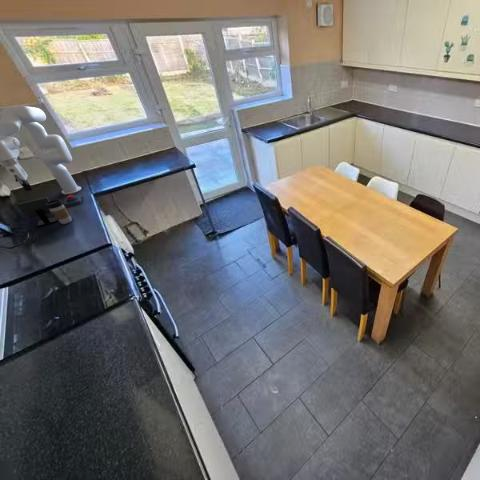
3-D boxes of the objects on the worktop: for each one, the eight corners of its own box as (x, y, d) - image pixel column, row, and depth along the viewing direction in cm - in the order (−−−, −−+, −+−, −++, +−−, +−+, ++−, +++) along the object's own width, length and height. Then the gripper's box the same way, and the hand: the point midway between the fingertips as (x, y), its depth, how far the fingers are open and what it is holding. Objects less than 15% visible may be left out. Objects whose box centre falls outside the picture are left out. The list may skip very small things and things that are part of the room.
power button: (68, 197, 199) (66, 195, 198) (74, 196, 201) (72, 194, 200) (68, 199, 197) (66, 197, 196) (74, 198, 198) (72, 196, 197)
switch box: (66, 201, 202) (63, 196, 200) (81, 197, 206) (78, 193, 204) (66, 207, 195) (62, 202, 193) (81, 203, 199) (78, 198, 197)
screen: (29, 216, 174) (18, 203, 168) (56, 210, 180) (46, 196, 174) (28, 218, 173) (17, 204, 166) (56, 211, 179) (46, 197, 173)
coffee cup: (65, 225, 176) (51, 205, 166) (55, 224, 177) (40, 204, 168) (77, 218, 182) (64, 199, 173) (67, 217, 184) (53, 198, 174)
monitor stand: (39, 222, 180) (29, 208, 173) (58, 217, 184) (48, 204, 178) (38, 227, 175) (27, 213, 169) (57, 222, 179) (47, 208, 173)
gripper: (14, 164, 158) (35, 192, 168) (19, 157, 168) (38, 184, 178) (-3, 167, 154) (19, 196, 165) (3, 159, 164) (23, 187, 175)
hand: (29, 189), depth 172 cm, fingers closed
